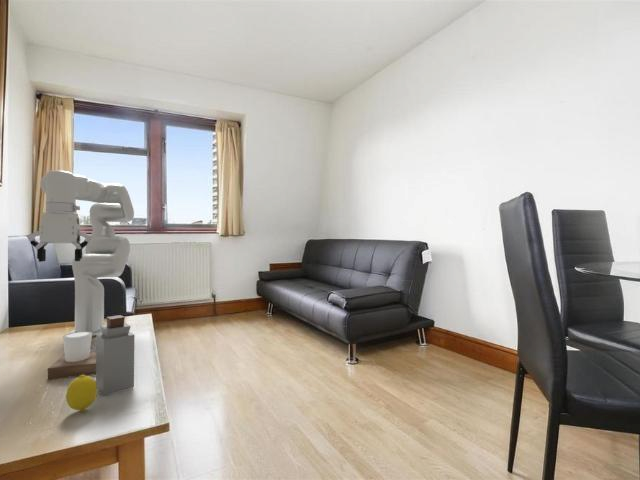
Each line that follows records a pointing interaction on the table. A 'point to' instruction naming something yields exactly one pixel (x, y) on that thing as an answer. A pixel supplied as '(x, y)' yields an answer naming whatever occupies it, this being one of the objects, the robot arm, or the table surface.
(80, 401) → the lemon
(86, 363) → the walnut plinth
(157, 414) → the table surface
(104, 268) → the robot arm
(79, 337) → the white cup
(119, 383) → the perfume bottle
